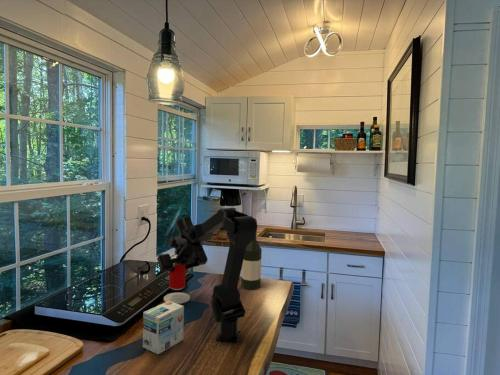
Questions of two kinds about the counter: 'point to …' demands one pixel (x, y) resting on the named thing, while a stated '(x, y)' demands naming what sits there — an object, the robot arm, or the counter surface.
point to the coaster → (177, 298)
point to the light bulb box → (163, 326)
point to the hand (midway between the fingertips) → (175, 270)
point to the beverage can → (177, 277)
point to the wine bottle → (251, 266)
